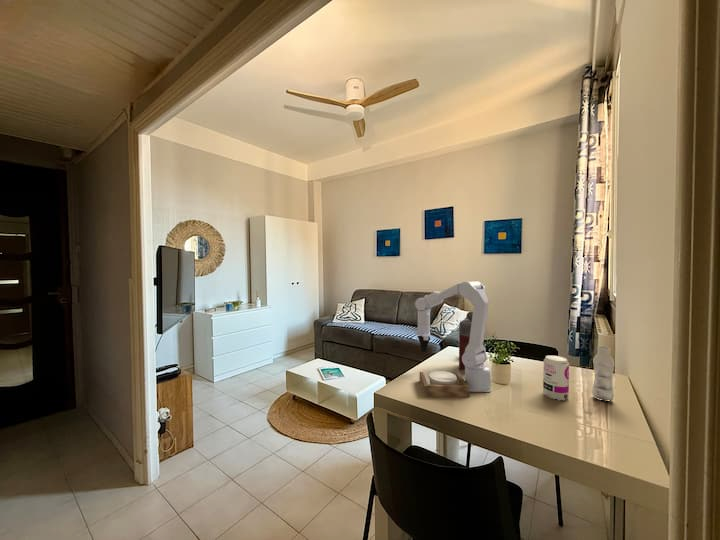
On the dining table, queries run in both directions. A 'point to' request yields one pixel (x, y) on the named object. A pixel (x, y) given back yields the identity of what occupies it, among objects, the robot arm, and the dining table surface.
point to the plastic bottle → (603, 374)
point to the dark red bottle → (464, 337)
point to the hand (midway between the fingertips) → (423, 351)
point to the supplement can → (556, 377)
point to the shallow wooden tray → (445, 388)
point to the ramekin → (442, 378)
